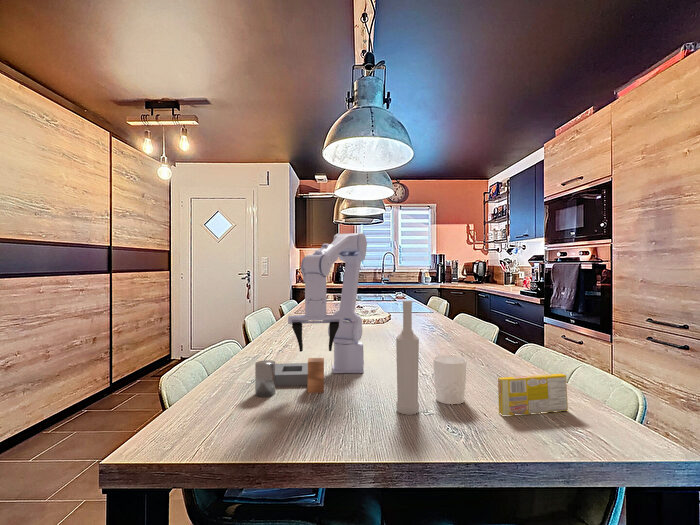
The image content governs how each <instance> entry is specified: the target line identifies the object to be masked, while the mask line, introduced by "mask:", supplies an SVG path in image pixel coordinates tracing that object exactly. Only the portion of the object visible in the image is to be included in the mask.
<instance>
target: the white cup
mask: <svg viewBox="0 0 700 525" xmlns="http://www.w3.org/2000/svg"><path fill="white" fill-rule="evenodd" d="M433 377H434V388H435V399H436V401H437V402H439V403H441V404H444V405H450V404H451V405H453V404H457V405H461V403H462V404H463V403H465V394H466V392H465V391H466V383H467V382H466V381H467V359H466V358H464V357H461V356H457V355H438V356H434V357H433ZM451 405H450V406H451Z"/></svg>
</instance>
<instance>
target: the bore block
mask: <svg viewBox="0 0 700 525" xmlns="http://www.w3.org/2000/svg"><path fill="white" fill-rule="evenodd" d="M284 386H288V387H289V386H296V387H297V386H308V362H293V363H285V362H284V363H275V387H284Z"/></svg>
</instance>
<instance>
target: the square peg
mask: <svg viewBox="0 0 700 525" xmlns="http://www.w3.org/2000/svg"><path fill="white" fill-rule="evenodd" d="M307 363H308V385H307V393H308V394H310V393H311V394H312V393H313V394H315V393H318V394H319V393H325V379H324V378H325V358H324V357H308V358H307Z"/></svg>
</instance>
